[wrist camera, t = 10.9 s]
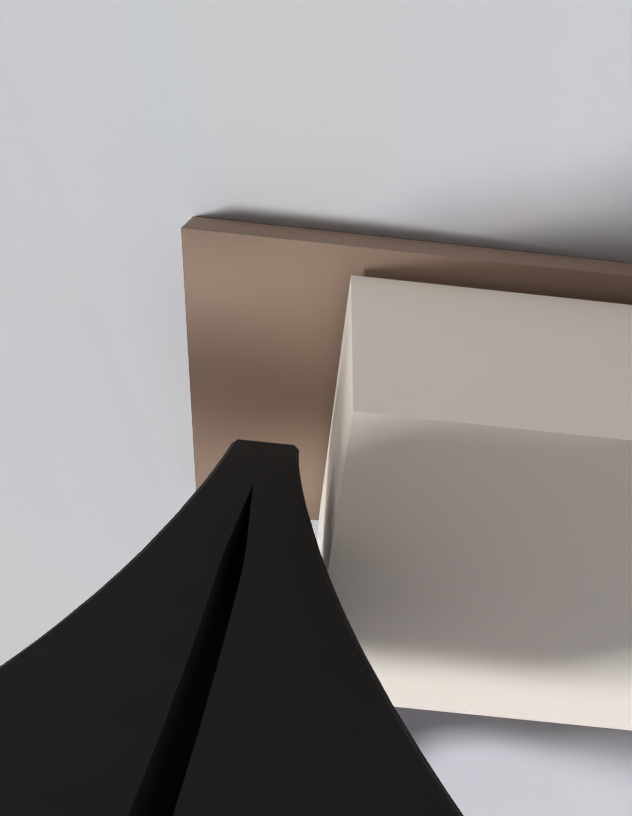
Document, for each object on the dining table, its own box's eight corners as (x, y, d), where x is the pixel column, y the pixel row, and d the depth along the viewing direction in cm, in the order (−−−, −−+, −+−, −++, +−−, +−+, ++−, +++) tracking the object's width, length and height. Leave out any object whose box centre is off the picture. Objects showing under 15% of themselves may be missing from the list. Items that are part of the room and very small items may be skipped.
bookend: (581, 542, 14) (677, 735, 10) (318, 515, 14) (307, 698, 10) (711, 313, 10) (951, 473, 6) (351, 275, 10) (353, 412, 6)
